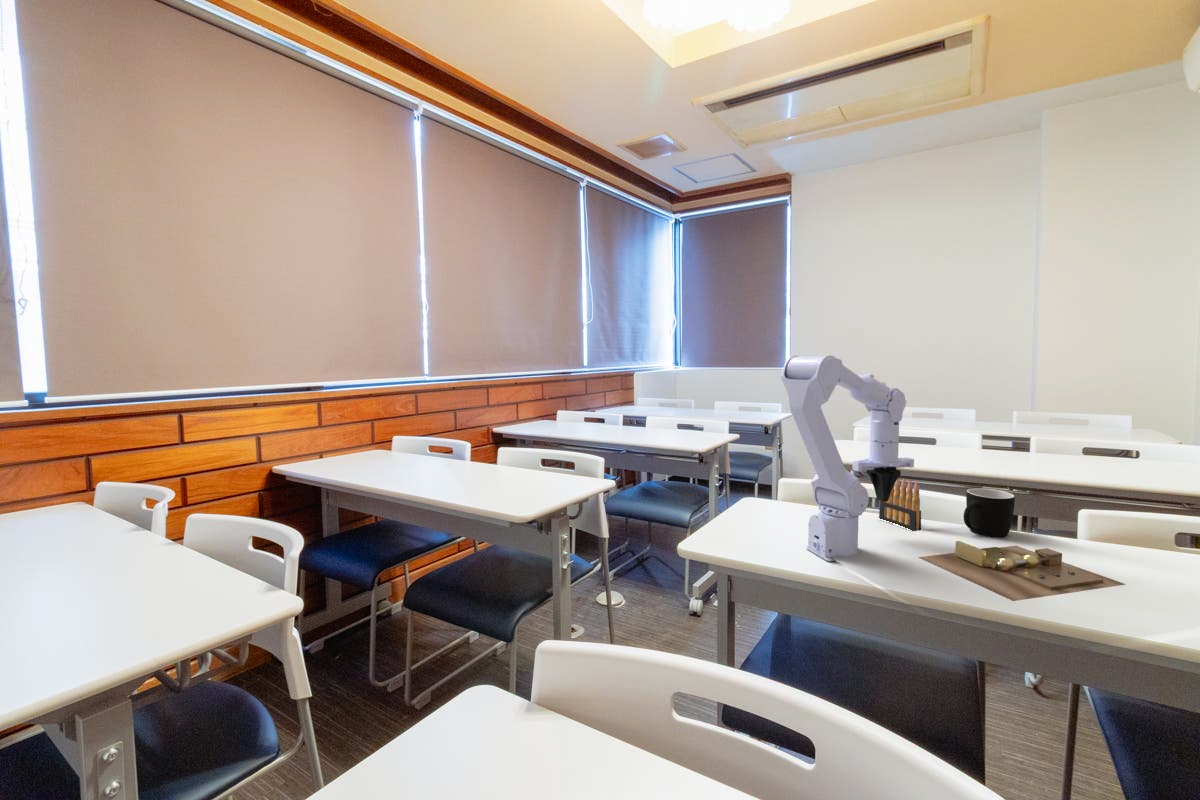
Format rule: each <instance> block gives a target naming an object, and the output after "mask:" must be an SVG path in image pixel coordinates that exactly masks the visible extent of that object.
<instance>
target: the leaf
mask: <svg viewBox="0 0 1200 800" xmlns="http://www.w3.org/2000/svg"><path fill="white" fill-rule="evenodd" d="M954 547H955V550H954V551H955V552H954V553H955V556H958V557H960V558H963V559H965V560H967V561H970V562H972V563H975V564H977V565H979V566H982V567H983V566H986V567H991V568H994V569H999V570H1002V571H1003V570H1011V569H1015V568H1016V567H1017V566H1021V565H1023V566H1025V567H1034V566H1040V565H1041V564H1042V562H1044V561H1046V556H1044V557H1040V556H1038V555H1037V554H1031V555H1023V556H1020V555H1017V554H1014V553H1012V552H1009V551H1006V550H1004V549H1001V548H999V546H994V547H993V546H992V547H984V548H983V547H981V548H979V547H976V546H973V545H970V544H968V543H966V542H963V541H961V540H956V541H955V545H954Z"/></svg>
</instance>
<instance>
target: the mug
mask: <svg viewBox="0 0 1200 800" xmlns="http://www.w3.org/2000/svg"><path fill="white" fill-rule="evenodd" d="M965 494H966V498H965V499H966V507H965V509H964V511H963V522H964V525H965V526H966V527H967V528H968V529H969V531H970V532H971V533H972V534H974V535H978V536H982V537H987V538H992V539H993V538H994V539H1004V538H1007V537H1008V536H1009V534H1010V530H1011V527H1012V523H1013V519H1014V512H1015V504H1016V502H1015V501H1016V500H1015V499H1016V497H1015V494H1013V493H1010V492H1009V491H1004V490H999V489H993V488H982V487H980V488H977V487H976V488H969V489H967V490H966V493H965Z"/></svg>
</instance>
